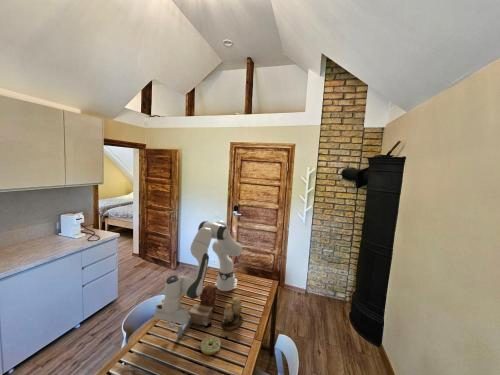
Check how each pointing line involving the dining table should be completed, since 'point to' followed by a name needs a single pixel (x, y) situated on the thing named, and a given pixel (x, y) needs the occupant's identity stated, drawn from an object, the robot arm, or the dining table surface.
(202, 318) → the tan boxy piece
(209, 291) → the wooden figurine
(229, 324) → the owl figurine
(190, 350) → the dining table surface
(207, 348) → the decorated donut
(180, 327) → the lever handle with knob
